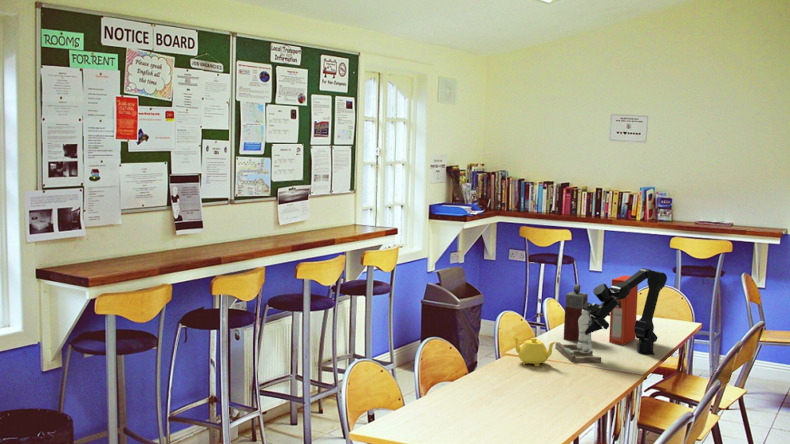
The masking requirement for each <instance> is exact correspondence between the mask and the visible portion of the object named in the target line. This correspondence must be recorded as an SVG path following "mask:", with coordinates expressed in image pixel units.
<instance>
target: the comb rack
mask: <svg viewBox="0 0 790 444" xmlns="http://www.w3.org/2000/svg"><path fill="white" fill-rule="evenodd" d="M555 342H556V343H554V344H555V350H557V351H558V353H560V354H561V355H562V356H564V358H566V359H568V361H569V362H570V363H602V357H601V356H593V353H594V352H593V350H591V352H589V353H582V352H579V351H578V349H577V344H578V343H577V344H573V343H572V344H567V343H565V344H563V343H561V342H558V341H555Z"/></svg>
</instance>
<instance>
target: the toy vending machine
mask: <svg viewBox="0 0 790 444" xmlns="http://www.w3.org/2000/svg"><path fill="white" fill-rule="evenodd" d="M564 299H565V301H564V302H565V303H564V305H565V306H564V318H563V319H564V321H563V322H564V323H563V340H564V341H570V342H571V341H573V342H577V343H578V339H579V325H578V320H579V318H580V316H581V315H582V313H581V312H582V309H586V308H583V306H584V304H585V302H588V300H589V299H588V293H587V292H581V285H580V284H576V283H575V284H574V285H573V291H569V292H568V293H566V294H565V298H564Z"/></svg>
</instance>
